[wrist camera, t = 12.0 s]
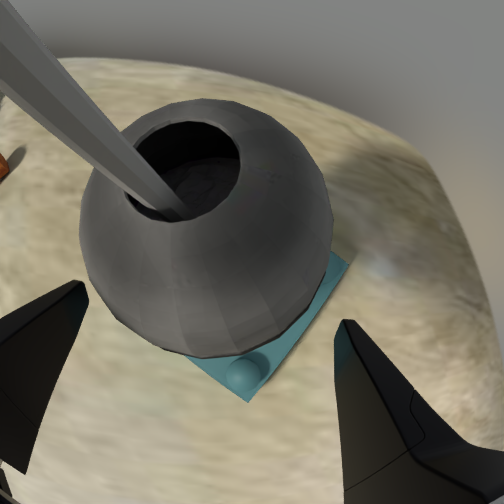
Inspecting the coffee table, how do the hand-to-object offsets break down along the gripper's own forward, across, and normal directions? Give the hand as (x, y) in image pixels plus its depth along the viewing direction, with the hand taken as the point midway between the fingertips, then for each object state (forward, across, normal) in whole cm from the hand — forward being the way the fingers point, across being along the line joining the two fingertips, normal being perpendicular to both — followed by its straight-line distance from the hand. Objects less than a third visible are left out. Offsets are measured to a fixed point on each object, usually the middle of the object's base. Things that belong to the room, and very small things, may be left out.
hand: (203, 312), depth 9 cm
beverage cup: (+9, 0, +6) cm, 11 cm away
